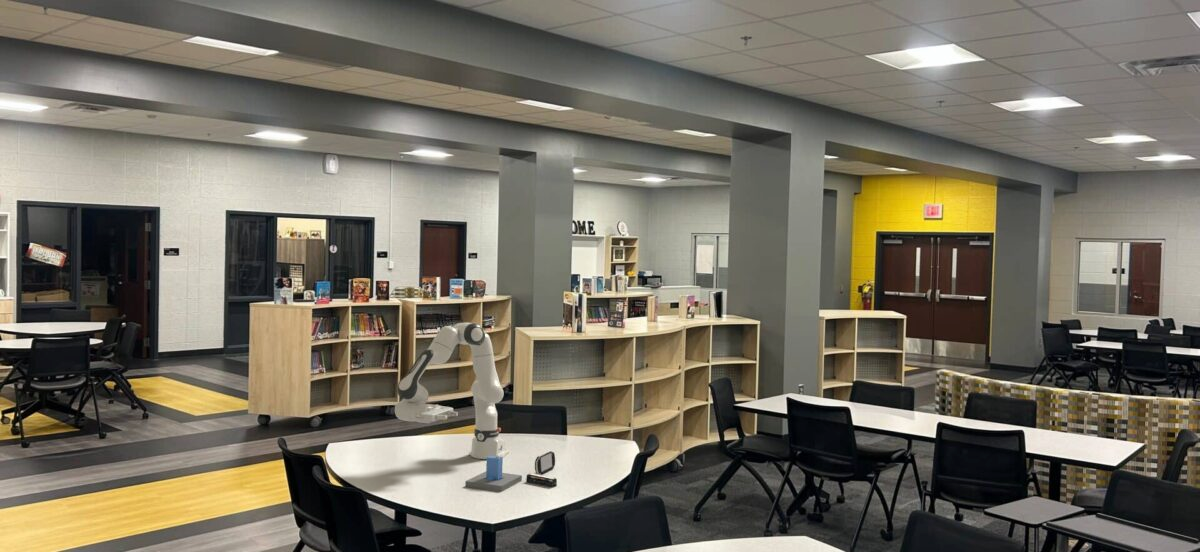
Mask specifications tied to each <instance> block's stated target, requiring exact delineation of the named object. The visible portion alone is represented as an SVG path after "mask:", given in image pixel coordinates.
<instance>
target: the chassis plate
mask: <svg viewBox="0 0 1200 552" xmlns="http://www.w3.org/2000/svg"><path fill="white" fill-rule="evenodd" d="M522 479H523V475H521V474H516V473H505V472H502V479H501V480H499V481H498V480H493V481H486V480H487V479H486V471H484V472H482V473H479V474H477V475H476V476H473V477H471V478H469V479H467V480H465V488H472V489H480V490H486V491H487V490H488V491H494V492H501V493H502V492H504V491H505V490H508V489H510V488H511V487H513V486H515V485H517V484H518V483H521V482H522Z"/></svg>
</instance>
